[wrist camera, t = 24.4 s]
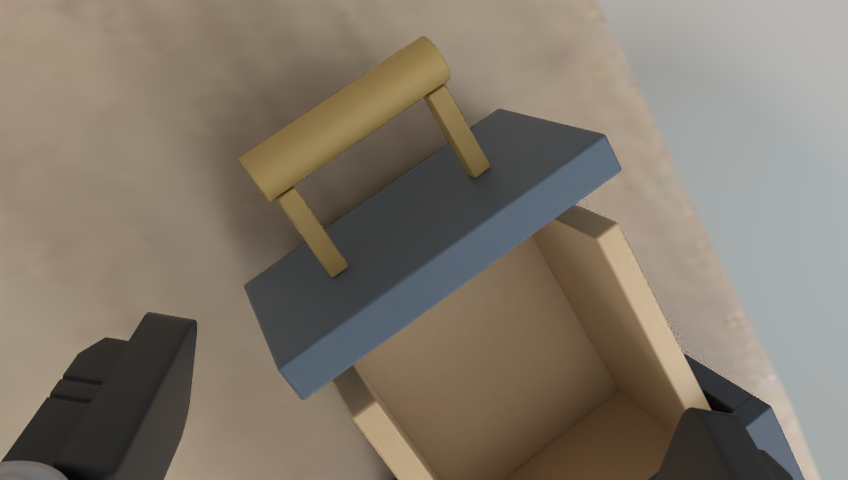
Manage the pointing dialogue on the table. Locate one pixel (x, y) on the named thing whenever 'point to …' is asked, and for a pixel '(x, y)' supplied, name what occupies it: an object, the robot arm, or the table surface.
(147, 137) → the table surface
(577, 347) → the drawer
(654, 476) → the cabinet
